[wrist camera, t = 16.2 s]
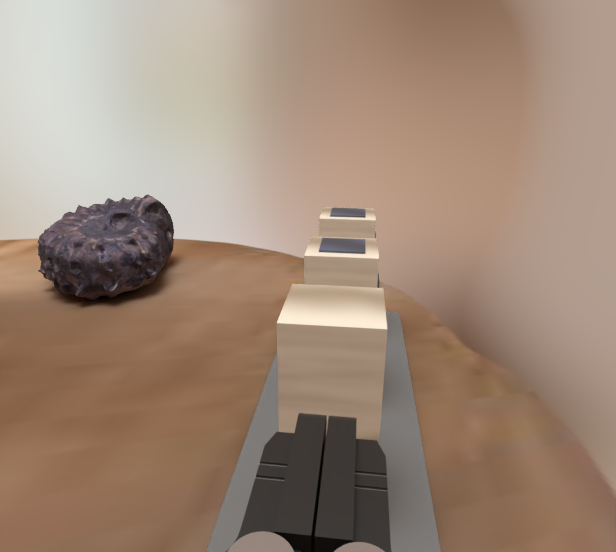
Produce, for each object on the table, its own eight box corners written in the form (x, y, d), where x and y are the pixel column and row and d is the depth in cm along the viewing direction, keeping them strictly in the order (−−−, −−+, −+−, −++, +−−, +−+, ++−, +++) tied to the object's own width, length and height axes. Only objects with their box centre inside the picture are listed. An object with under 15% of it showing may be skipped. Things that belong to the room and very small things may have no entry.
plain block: (372, 530, 25) (387, 329, 21) (280, 521, 25) (276, 323, 21) (371, 463, 30) (383, 288, 25) (293, 457, 30) (292, 283, 26)
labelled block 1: (370, 341, 45) (377, 218, 41) (317, 338, 46) (319, 216, 42) (369, 319, 50) (376, 207, 46) (321, 316, 50) (323, 205, 46)
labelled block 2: (371, 410, 35) (381, 256, 31) (303, 405, 36) (304, 253, 31) (370, 374, 40) (379, 236, 36) (310, 370, 40) (311, 234, 36)
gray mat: (444, 586, 23) (445, 579, 23) (206, 560, 24) (205, 553, 24) (399, 316, 52) (399, 312, 51) (292, 311, 53) (292, 307, 53)
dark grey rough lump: (180, 265, 73) (93, 214, 71) (208, 205, 65) (112, 146, 63) (110, 353, 58) (-3, 292, 56) (137, 288, 50) (6, 214, 48)
